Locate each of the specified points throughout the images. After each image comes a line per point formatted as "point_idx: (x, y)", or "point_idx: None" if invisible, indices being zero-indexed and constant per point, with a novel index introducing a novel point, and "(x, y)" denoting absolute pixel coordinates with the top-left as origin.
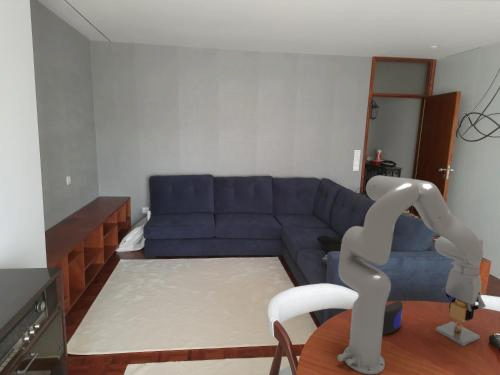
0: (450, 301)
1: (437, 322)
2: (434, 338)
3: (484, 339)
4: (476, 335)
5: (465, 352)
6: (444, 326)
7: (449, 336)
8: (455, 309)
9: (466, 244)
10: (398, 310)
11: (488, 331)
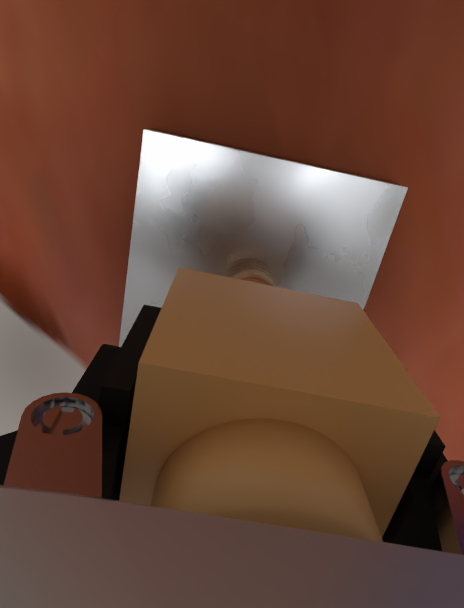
0: (455, 476)
1: (416, 325)
2: (366, 17)
3: None
4: None
5: (90, 32)
6: (353, 272)
7: (272, 156)
8: (313, 350)
9: None
10: None
11: None
